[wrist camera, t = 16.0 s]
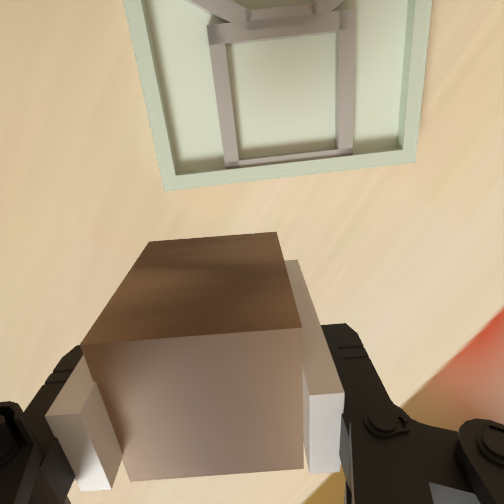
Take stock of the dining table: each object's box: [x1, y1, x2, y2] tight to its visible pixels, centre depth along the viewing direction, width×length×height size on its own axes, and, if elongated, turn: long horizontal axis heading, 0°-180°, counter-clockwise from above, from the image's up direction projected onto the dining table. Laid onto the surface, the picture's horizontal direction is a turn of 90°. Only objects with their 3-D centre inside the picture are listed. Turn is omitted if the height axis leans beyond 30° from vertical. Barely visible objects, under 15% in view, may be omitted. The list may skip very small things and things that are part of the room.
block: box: [80, 232, 304, 482], centre depth 11 cm, size 5×5×6 cm
